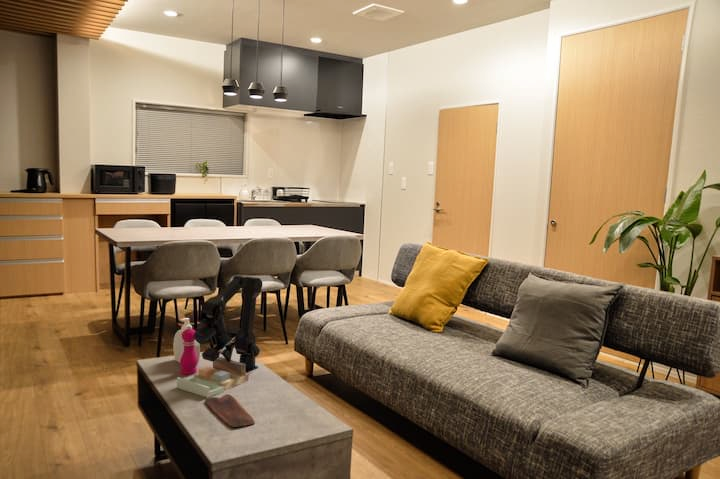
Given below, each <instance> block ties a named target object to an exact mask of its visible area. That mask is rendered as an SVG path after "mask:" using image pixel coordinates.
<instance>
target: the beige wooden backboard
mask: <svg viewBox="0 0 720 479" xmlns="http://www.w3.org/2000/svg"><path fill="white" fill-rule="evenodd" d="M218 371H221V370H217V369H215V373H216V372H218ZM193 377H195V378H198V379H202V380H205V381H208V382H211V383H214V384H217V385H220V386H223V387H224V392H225V391H227V390H229V388H230V389H232V388H234V387H237V386H238V385H239V386H240V385H241V384H243V382H244V383H246V382H248V381H249V373H247V372H245V375H244V376H242V377H240V376H237V375H234V374H230V379H228V380H226V381H223V382H219V381H216V380H213V376H210V377H207V378H206V377H203V376H200V375H199V372H198V373H195V374H193ZM236 385H237V386H236Z"/></svg>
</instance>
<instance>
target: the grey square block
mask: <svg viewBox="0 0 720 479" xmlns="http://www.w3.org/2000/svg"><path fill="white" fill-rule="evenodd" d="M228 379H230V373H229V372H225V371H222V370H221V371H218V372H216V373H213V380H216V381H219V382H223V381H226V380H228Z"/></svg>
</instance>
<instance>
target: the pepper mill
mask: <svg viewBox="0 0 720 479" xmlns="http://www.w3.org/2000/svg"><path fill="white" fill-rule="evenodd" d="M191 326H192V325H191ZM191 326H188V327H187V329H186V330H184V331H183V333H182V339H183V340H184V341H183V345H184V352H183V355H182V357H181V359H180V363H179V365H180V367H181V368H180V374H182V375H183V376H190V375H191V376H192V375H195V374H197V372H198V371H197V370H198V368H197V366H198V365H197V364H199V362H198V359H197V356H196V354H195V351H194V345H195V338H194V333H195V332H196V329H193V326H192V327H191ZM191 328H192V329H191Z"/></svg>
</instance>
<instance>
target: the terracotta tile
mask: <svg viewBox="0 0 720 479" xmlns="http://www.w3.org/2000/svg"><path fill="white" fill-rule="evenodd" d="M198 373H199V375H200V376H203V377H206V378H207V377H210V376H213V373H215V368H213V366H208V365H206V366H204V367H201V368H198Z"/></svg>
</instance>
